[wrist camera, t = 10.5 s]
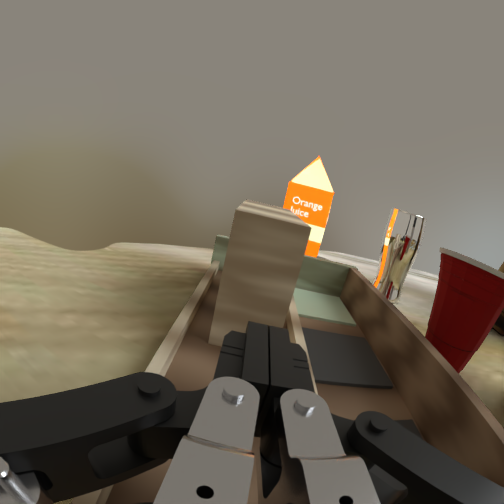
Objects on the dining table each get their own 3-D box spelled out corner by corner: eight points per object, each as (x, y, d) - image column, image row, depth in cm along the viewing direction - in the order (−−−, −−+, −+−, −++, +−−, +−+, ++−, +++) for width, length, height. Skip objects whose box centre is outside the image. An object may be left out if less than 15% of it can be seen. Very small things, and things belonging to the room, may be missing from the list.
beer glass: (408, 305, 43) (435, 222, 40) (381, 303, 41) (409, 212, 38) (385, 290, 50) (408, 214, 46) (358, 287, 48) (382, 205, 44)
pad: (288, 288, 36) (289, 286, 36) (338, 299, 37) (339, 297, 37) (295, 315, 29) (296, 313, 29) (355, 326, 29) (356, 324, 29)
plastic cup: (486, 373, 22) (527, 280, 20) (457, 400, 17) (516, 278, 15) (428, 335, 32) (459, 251, 29) (384, 346, 27) (424, 240, 24)
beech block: (228, 282, 34) (246, 199, 32) (268, 291, 34) (289, 209, 32) (208, 343, 20) (235, 209, 18) (273, 357, 20) (311, 227, 18)
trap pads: (298, 329, 26) (299, 326, 26) (363, 340, 26) (364, 337, 26) (339, 537, 6) (342, 535, 6) (451, 508, 6) (455, 505, 6)
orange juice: (267, 265, 49) (295, 149, 44) (276, 255, 57) (299, 157, 52) (312, 277, 47) (342, 161, 43) (313, 265, 56) (339, 167, 51)
